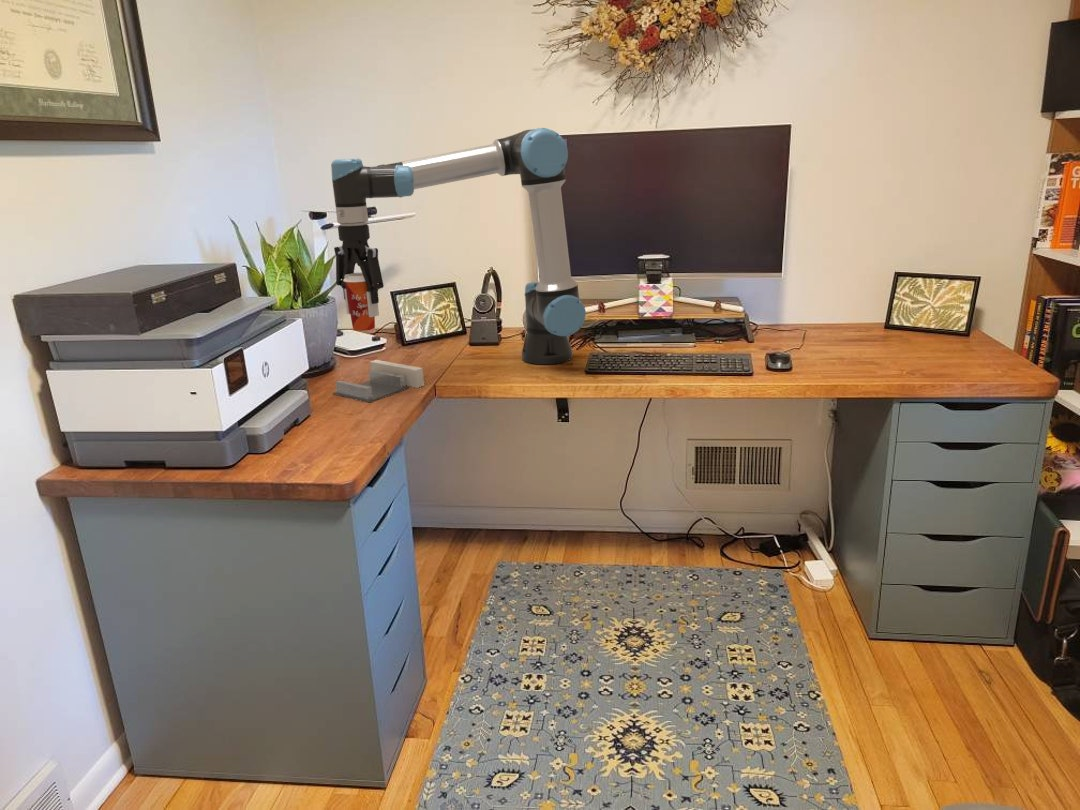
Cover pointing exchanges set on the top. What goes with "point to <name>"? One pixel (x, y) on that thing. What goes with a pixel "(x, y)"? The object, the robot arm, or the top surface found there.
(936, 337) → the top surface
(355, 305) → the paper cup
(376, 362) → the board
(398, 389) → the bracket
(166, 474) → the top surface
